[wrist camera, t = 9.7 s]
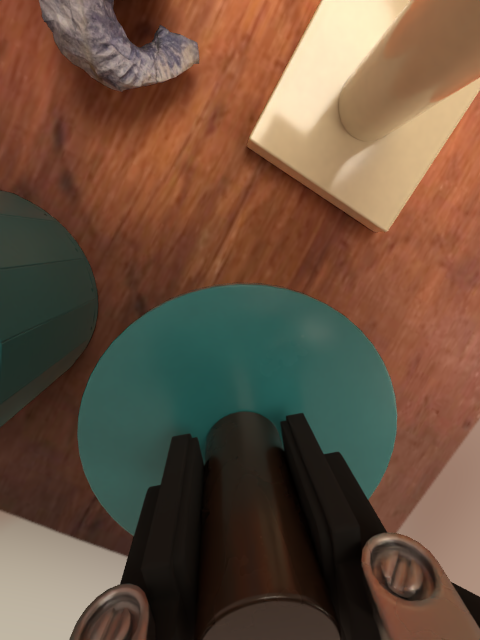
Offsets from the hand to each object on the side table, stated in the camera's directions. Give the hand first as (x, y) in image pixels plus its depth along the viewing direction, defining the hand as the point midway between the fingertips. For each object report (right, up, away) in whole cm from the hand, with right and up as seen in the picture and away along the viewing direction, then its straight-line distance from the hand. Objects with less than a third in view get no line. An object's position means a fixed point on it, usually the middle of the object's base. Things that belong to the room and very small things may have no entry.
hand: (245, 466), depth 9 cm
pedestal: (+5, +15, +5) cm, 16 cm away
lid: (0, 0, +2) cm, 2 cm away
